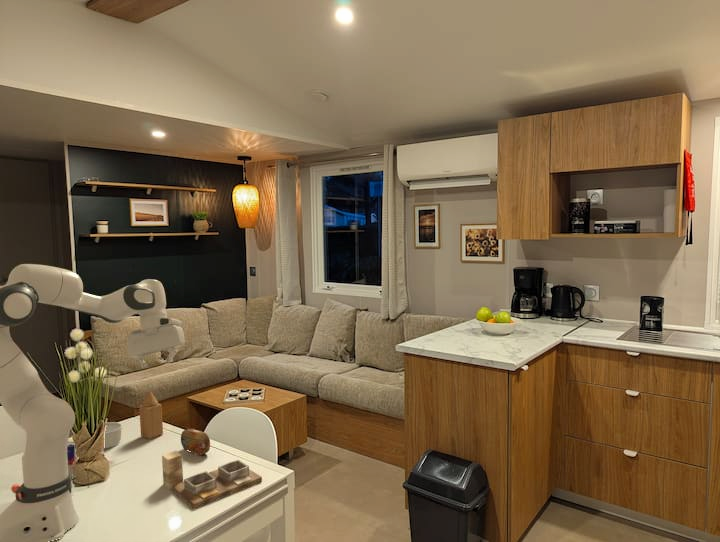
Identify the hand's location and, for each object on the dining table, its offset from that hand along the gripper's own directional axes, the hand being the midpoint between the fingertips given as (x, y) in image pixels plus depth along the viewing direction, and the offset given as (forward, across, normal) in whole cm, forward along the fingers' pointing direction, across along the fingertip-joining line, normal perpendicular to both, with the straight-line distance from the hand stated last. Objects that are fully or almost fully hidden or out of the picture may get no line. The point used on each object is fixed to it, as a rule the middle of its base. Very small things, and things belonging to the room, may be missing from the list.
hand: (157, 365), depth 171 cm
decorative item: (+19, -33, +45) cm, 59 cm away
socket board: (+42, +11, +12) cm, 45 cm away
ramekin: (+20, -48, +34) cm, 62 cm away
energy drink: (+30, -42, +9) cm, 52 cm away
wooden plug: (+39, -4, +10) cm, 40 cm away
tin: (+30, -8, +34) cm, 46 cm away
